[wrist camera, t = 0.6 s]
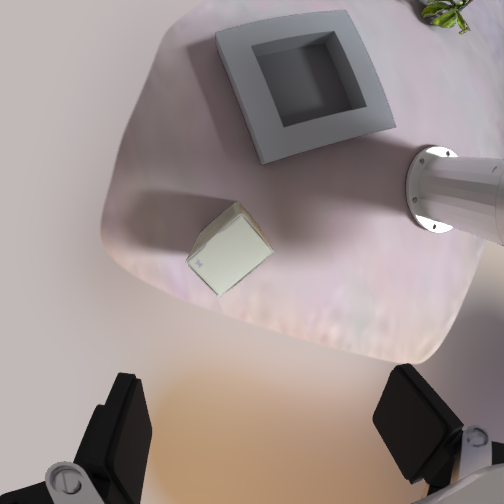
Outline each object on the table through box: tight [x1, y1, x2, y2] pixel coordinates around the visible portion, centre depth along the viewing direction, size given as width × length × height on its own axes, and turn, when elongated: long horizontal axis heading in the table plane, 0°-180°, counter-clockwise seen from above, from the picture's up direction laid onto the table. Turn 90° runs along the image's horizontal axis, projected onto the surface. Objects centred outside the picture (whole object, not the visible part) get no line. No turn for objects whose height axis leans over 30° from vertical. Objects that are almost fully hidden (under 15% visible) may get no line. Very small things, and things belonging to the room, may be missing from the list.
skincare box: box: [185, 201, 273, 297], centre depth 29 cm, size 6×4×12 cm
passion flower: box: [421, 0, 473, 34], centre depth 23 cm, size 11×11×12 cm
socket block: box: [215, 10, 396, 165], centre depth 28 cm, size 16×16×5 cm
